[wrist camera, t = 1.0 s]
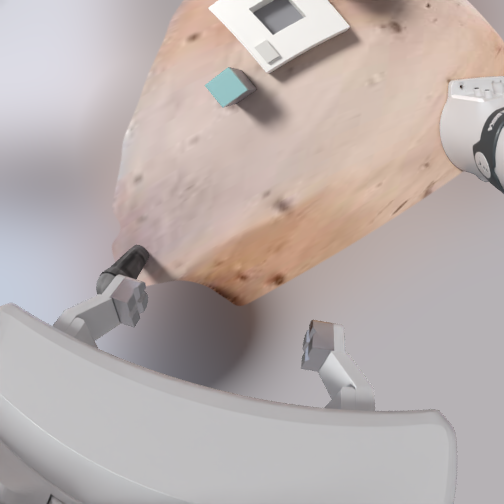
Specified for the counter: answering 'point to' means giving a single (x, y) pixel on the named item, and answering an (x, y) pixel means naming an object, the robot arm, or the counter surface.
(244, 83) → the plug
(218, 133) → the counter surface
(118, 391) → the robot arm
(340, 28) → the socket plate
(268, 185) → the counter surface
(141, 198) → the counter surface
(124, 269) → the beverage cup
